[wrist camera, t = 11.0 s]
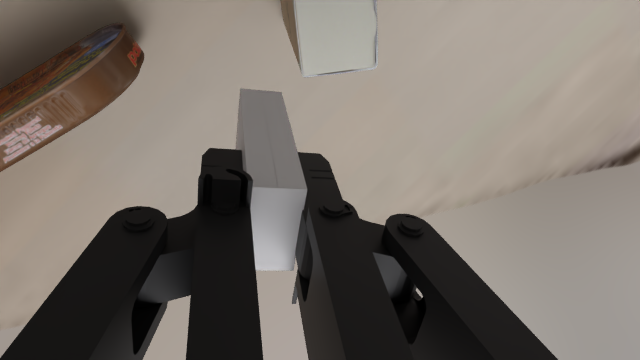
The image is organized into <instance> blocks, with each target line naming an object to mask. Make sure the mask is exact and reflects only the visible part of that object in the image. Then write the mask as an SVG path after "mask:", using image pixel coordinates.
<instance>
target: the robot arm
mask: <svg viewBox="0 0 640 360" xmlns="http://www.w3.org/2000/svg"><path fill="white" fill-rule="evenodd" d="M295 258H296V260H297V265H298V270H297V276H296V282H295V287H294V293H293V299H292V304H296V300H297V297H298V300H299V306H300V312H301V318H302V324H303V330H304V336H305V341H306V347H307V353H308V358H309V360H558V359H557V358H556V357H555V356H554V355H553V354H552V353H551V352H550V351H549V350H548V349H547V348H546V347H545V346H544V344H543V343H542V342H541V341H540V340H539V339H538V338H537V337H536V336H535V335H534V334H533V333H532V332H531V331H530V330H529V329H528V328H527V326H526V325H525V324H524V323H523V322H522V321H521V320H520V319H519V318H518V317H517V316H516V315H515V314H514V313H513V312H512V311H511V310H510V309H509V308H508V306H507V305H506V304H504V302H503V301H502V300H501V299H500V298H499V297H498V296H497V295H496V294H495V293H494V292H493V291H492V290H491V289H490V287H489V286H488V285H486V283H485V282H484V281H483V280H482V279H481V278H480V277H479V276H478V275H477V274H476V273H475V272H474V271H473V270H472V269H471V268H470V266H469V265H468V264H467V263H466V262H465V261H464V260H463V259H462V258H461V257H460V256H459V255H458V254H457V253H456V252H455V251H454V250H453V249H452V247H451V246H450V245H449V244H448V243H447V242H446V241H445V240H444V239H443V238H442V237H441V236H440V235H439V234H438V233H437V232H436V231H435V230H434V229H433V228H432V227H431V225H429V224H428V223H427V222H426V221H424V220H423V219H420V218H418V217H416V216H413V215H409V214H395V215H392V216H390V217H389V218H388V219H387V220H386V224H385V226H384V225H380V224H376V223H371V222H368V221H365V220H362V219H360V218H359V216H358V214H357V211H356V210H355V208H354V207H353V206H352V205H351V204H349V203H348V202H346V201H344V200H343V199H342V196H341V194H340V191H339V188H338V186H337V183H336V180H335V177H334V175H333V172H332V169H331V166H330V164H329V162H328V161H327V160H326V159H325V158H324V157H323V156H322V155H321V154H316V153H300V152H297V149H296V145H295V141H294V137H293V134H292V130H291V126H290V122H289V118H288V115H287V111H286V107H285V103H284V100H283V96H282V92H273V91H262V90H251V89H240V99H239V111H238V124H237V137H236V149H235V150H233V149H216V148H209V149H208V150H207V151H206V152H205V153H204V154H203V155H202V164H201V174H200V176H199V178H198V205H197V206H196V207H195V209H194V210H192V211H191V212H189V213H188V214H185V215H183V216H180V217H176V218H170V219H167V218H166V216H165V214H163V213H162V212H161V211H159V210H157V209H154V208H151V207H142V206H136V207H130V208H125V209H123V210H120V211H118V212H116V213H115V214H114V215H112V216H111V217H110V218H109V219H108V221H107V222H106V223H105V225H104V226H103V227H102V228H101V230H100V231H99V232H98V234H97V235H96V236H95V237H94V239H93V240H92V241H91V243H90V244H89V245H88V246H87V248H86V249H85V250H84V251H83V253H82V254H81V255H80V257H79V258H78V259H77V260H76V262H75V263H74V264H73V266H72V267H71V268H70V269H69V271H68V272H67V273H66V275H65V276H64V277H63V278H62V280H61V281H60V282H59V284H58V285H57V286H56V287H55V289H54V290H53V291H52V292H51V294H50V295H49V296H48V298H47V299H46V300H45V301H44V303H43V304H42V305H41V307H40V308H39V309H38V310H37V312H36V313H35V314H34V316H33V317H32V318H31V319H30V321H29V322H28V323H27V325H26V326H25V327H24V329H23V330H22V331H21V332H20V334H19V335H18V336H17V337H16V339H15V340H14V341H13V342H12V344H11V345H10V346H9V348H8V349H7V350H6V351H5V353H4V354H3V355H2V357H1V358H0V360H142V359H143V357H144V355H145V353H146V351H147V349H148V347H149V345H150V342H151V340H152V338H153V336H154V334H155V332H156V330H157V327H158V325H159V323H160V321H161V318H162V317H163V315H164V312H165V310H166V308H167V303H168V301H170V300H174V299H178V298H182V297H186V296H189V295H191V299H190V313H189V326H188V340H187V353H186V360H263V352H262V340H261V329H260V317H259V305H258V293H257V281H256V270H281V271H285V270H286V271H289V270H290V271H292V270H294V264H295ZM416 288H418V289H419V290H420V292H421V293H422V295H423V298H421V297H420V296H419V295H418V293H417V292H416Z"/></svg>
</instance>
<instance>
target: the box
mask: <svg viewBox="0 0 640 360" xmlns="http://www.w3.org/2000/svg"><path fill="white" fill-rule="evenodd" d="M281 6H282V14H283V21H284V24H285V27H286V30H287V33H288V36H289V39H290V41H291V44H292V47H293V50H294V53H295V56H296V59H297V61H298V64H299V67H300V70H301V73H302V76H303V77H314V76H322V75H333V74H341V73H349V72H358V71H365V70H373V69H375V68H376V67H377V64H378V37H377V1H376V0H281Z"/></svg>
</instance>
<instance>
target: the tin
mask: <svg viewBox="0 0 640 360" xmlns="http://www.w3.org/2000/svg"><path fill="white" fill-rule="evenodd" d="M143 61H144V53H143V51H142V50H141V48H140V47H139V45H138V44H137V43H136V42H135V40H134V39H133V38H132V37H131V35H130V34H129V33H128V32H127V30H126V27H125V25H124V24H123V23H115V24H111V25H108V26H105V27H103V28H101V29H99V30H97V31H95V32H94V33H92V34H90V35H88V36H87V37H85V38H83V39H81V40H80V41H78V42H77V43H75V44H73V45H72V46H70V47H69V48H67V49H65V50H64V51H62V52H61V53H59V54H57V55H56V56H54V57H53V58H51V59H49V60H48V61H46V62H45V63H43V64H41V65H40V66H38V67H36V68H35V69H33V70H32V71H30V72H28V73H27V74H25V75H23V76H22V77H20V78H19V79H17V80H15V81H14V82H12V83H11V84H9V85H7V86H6V87H4V88H3V89H1V90H0V172H1V171H3V170H4V169H6V168H8V167H9V166H11V165H13V164H15V163H16V162H18V161H20V160H22V159H23V158H25V157H26V156H28V155H30V154H32V153H33V152H35V151H37V150H38V149H40V148H42V147H43V146H45V145H47V144H48V143H50V142H52V141H53V140H55V139H57V138H58V137H60V136H62V135H63V134H65V133H67V132H68V131H70V130H72V129H73V128H75V127H76V126H78V125H80V124H81V123H83V122H85V121H86V120H88V119H90V118H91V117H93V116H94V115H95V114H97V113H98V112H100V111H101V110H102V109H104V108H105V107H106V106H108V105H109V104H110V103H112V102H113V101H114V100H115V99H116V98H117V97H119V96H120V95H121V94H122V93H123V92H124V91H125V90H126V89H127V88H128V87H129V86H130V85H131V84H132V82H133V81H134V80H135V79H136V77H137V76H138V74H139V71H140V68H141V65H142V63H143Z"/></svg>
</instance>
